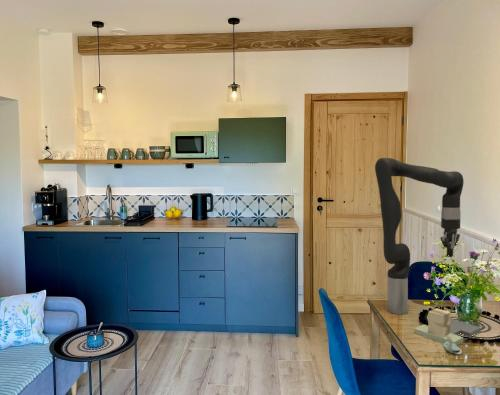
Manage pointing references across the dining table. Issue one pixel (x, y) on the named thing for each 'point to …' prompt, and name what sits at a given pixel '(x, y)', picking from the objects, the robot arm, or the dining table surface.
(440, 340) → the trap deck
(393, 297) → the robot arm
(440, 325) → the birch block
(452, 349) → the pacifier
